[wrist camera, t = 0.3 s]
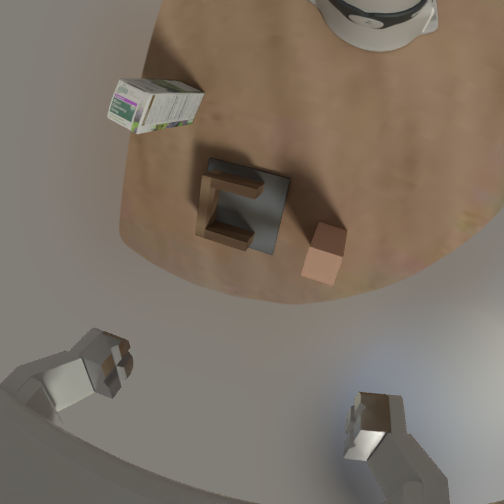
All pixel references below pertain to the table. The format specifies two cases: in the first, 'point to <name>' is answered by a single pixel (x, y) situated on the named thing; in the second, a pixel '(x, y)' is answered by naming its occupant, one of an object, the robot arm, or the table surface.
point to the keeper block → (325, 254)
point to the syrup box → (153, 104)
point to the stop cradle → (241, 206)
